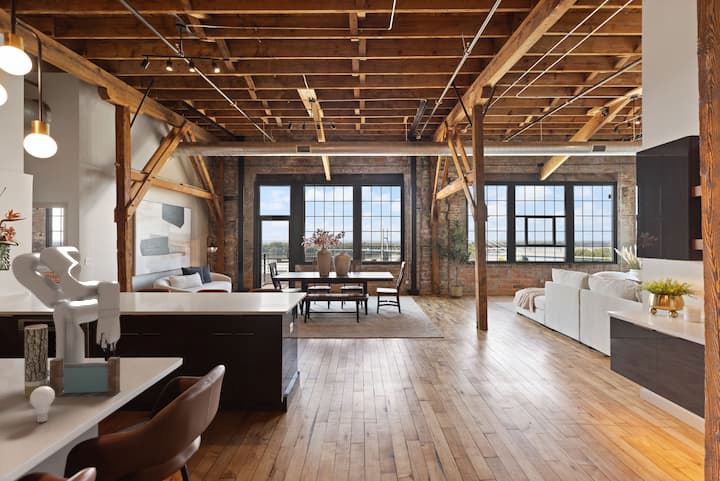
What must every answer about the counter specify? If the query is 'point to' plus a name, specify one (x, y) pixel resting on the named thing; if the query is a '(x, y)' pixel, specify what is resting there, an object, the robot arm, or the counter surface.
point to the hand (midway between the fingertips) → (109, 360)
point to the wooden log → (36, 357)
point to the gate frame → (113, 389)
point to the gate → (85, 377)
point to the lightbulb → (42, 401)
